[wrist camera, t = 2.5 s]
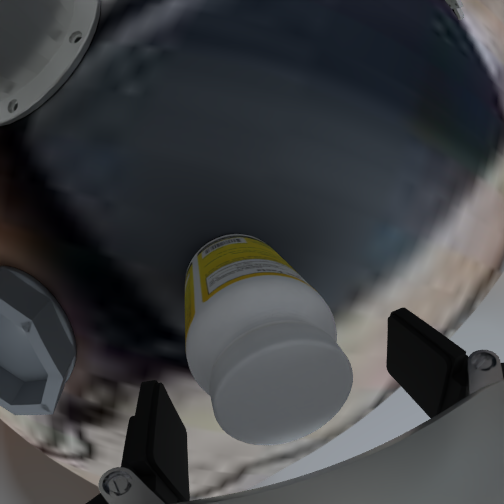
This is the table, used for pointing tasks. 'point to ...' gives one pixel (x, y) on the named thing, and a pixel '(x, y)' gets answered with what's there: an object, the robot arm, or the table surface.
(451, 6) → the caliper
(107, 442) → the table surface
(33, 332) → the socket cup
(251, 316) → the pill bottle
